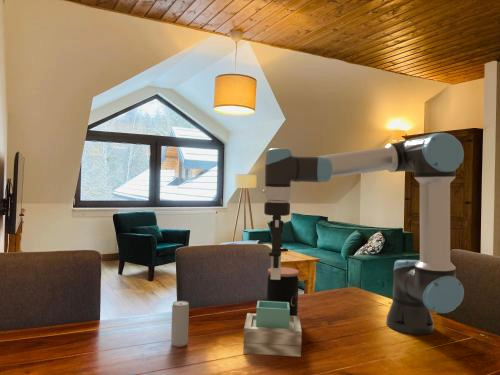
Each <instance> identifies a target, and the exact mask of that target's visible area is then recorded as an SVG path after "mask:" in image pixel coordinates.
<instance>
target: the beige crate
mask: <svg viewBox="0 0 500 375" xmlns="http://www.w3.org/2000/svg"><path fill="white" fill-rule="evenodd" d="M302 336H303V335H302V326H301V320H300V316H299V315H297V316H290V317H289V329H282V328H264V327H256V313H250V312H247V314H246V319H245V323H244V327H243V350H242V351H243V352H242V353H243V354H254V355H267V356H268V355H270V356H285V357H287V356H288V357H300V358H301V357H302Z"/></svg>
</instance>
